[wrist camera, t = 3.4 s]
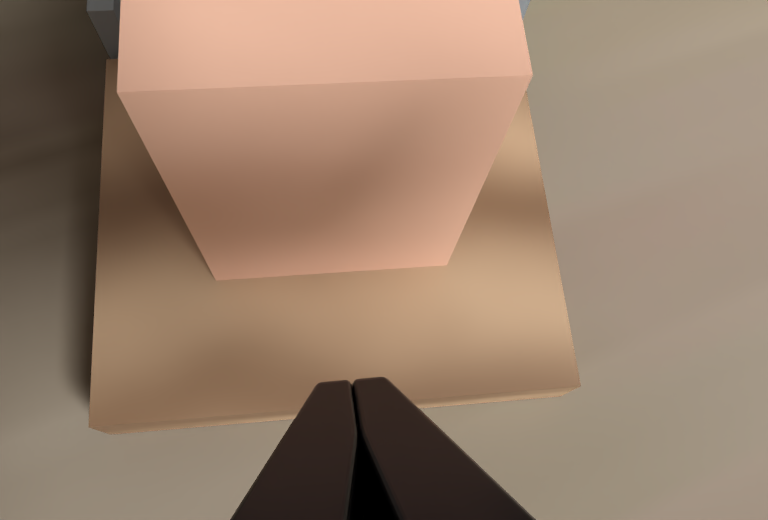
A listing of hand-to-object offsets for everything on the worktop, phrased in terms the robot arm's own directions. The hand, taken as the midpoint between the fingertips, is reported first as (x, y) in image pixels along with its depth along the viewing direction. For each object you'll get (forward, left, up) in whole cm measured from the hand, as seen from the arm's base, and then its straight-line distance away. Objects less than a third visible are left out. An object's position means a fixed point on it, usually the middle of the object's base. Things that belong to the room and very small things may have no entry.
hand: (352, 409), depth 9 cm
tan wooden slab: (+5, -6, -13) cm, 15 cm away
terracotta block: (+6, -7, -11) cm, 15 cm away
